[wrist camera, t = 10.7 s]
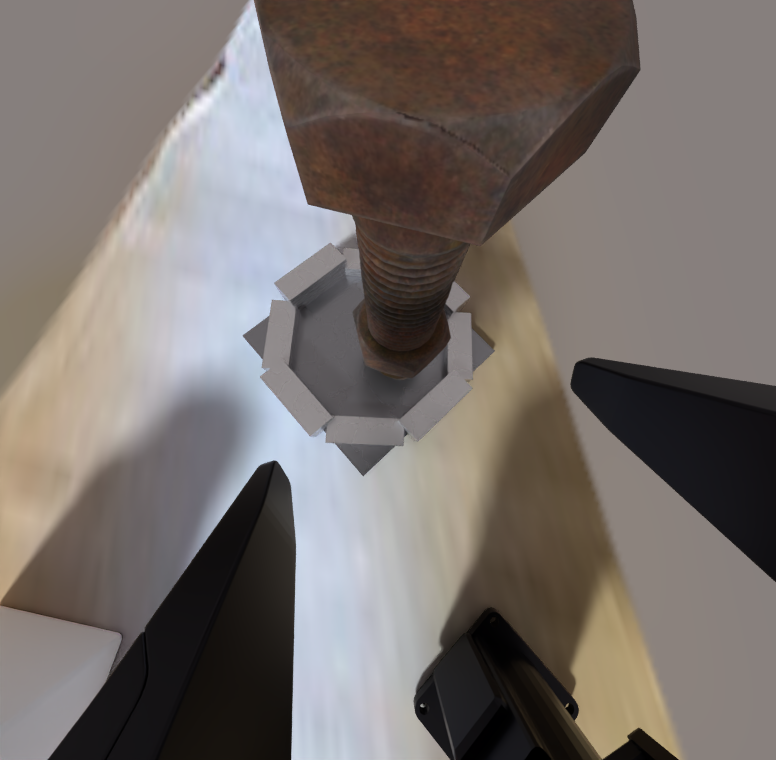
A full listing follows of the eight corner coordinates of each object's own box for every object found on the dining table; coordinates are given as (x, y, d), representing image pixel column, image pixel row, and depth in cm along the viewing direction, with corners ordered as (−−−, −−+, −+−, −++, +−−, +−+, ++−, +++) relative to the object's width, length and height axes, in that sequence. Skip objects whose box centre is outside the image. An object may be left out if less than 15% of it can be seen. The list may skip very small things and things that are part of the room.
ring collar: (502, 354, 19) (519, 343, 17) (362, 489, 17) (361, 496, 15) (378, 231, 21) (378, 207, 19) (233, 338, 19) (215, 324, 16)
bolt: (400, 307, 19) (453, -152, 5) (453, 356, 18) (727, -21, 4) (338, 362, 18) (149, -14, 3) (391, 416, 17) (435, 218, 3)
